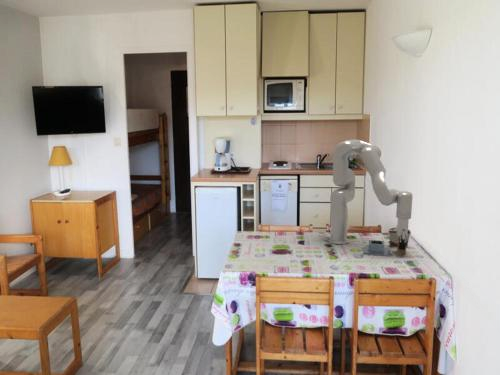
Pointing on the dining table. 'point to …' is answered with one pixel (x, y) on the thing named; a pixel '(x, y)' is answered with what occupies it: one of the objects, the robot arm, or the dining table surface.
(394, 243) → the food container
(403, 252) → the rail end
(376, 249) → the cup bracket
